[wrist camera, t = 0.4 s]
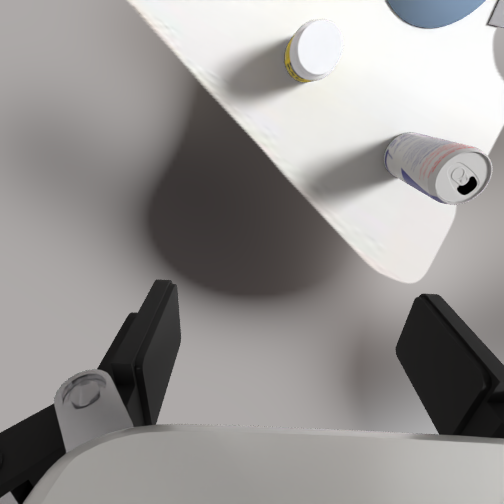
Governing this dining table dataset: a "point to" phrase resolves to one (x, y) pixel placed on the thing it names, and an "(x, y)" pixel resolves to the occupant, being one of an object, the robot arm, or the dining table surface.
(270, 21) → the dining table surface
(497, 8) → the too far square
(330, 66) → the supplement bottle
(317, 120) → the dining table surface
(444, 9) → the disc
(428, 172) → the energy drink
